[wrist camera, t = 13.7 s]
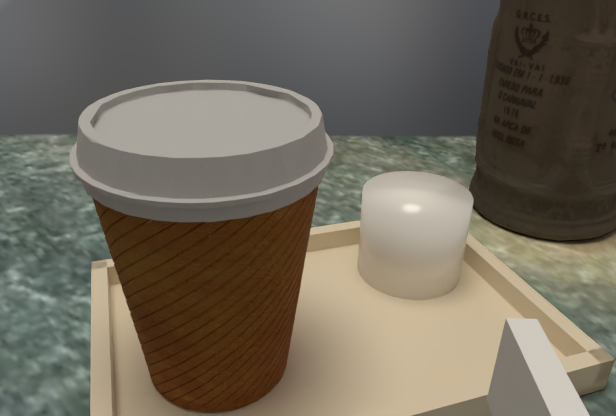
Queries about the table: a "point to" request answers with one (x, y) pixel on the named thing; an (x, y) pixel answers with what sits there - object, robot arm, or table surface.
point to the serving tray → (359, 342)
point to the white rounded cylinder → (413, 234)
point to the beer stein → (549, 120)
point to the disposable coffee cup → (207, 226)
